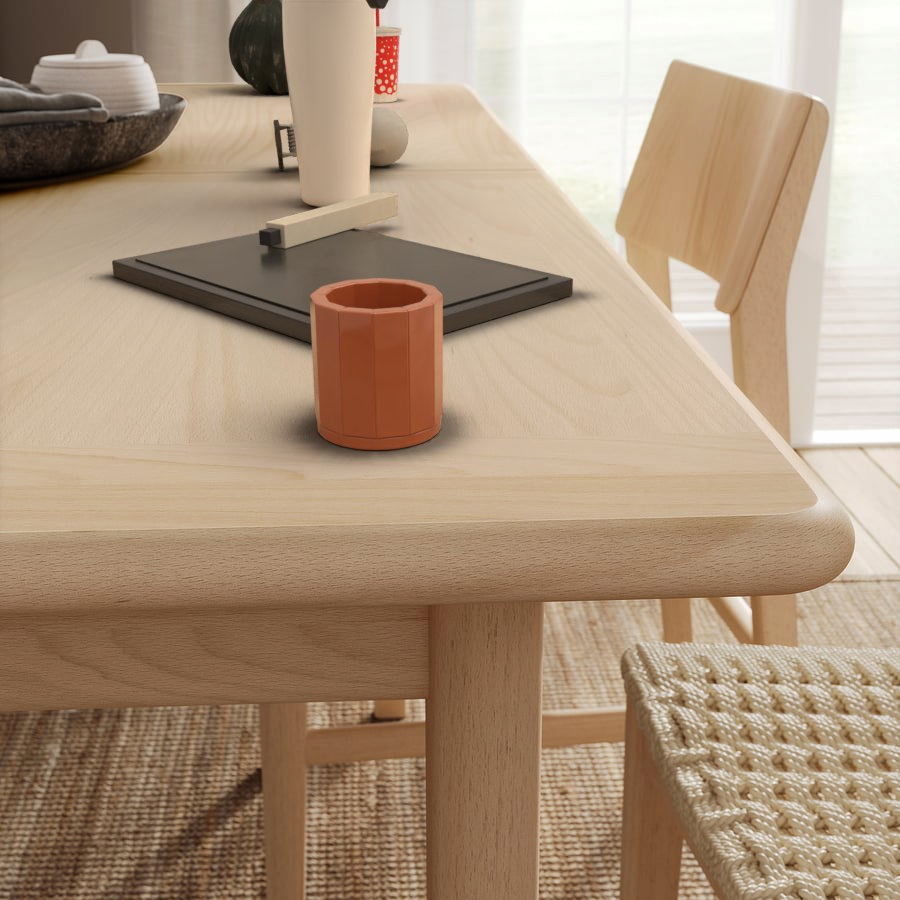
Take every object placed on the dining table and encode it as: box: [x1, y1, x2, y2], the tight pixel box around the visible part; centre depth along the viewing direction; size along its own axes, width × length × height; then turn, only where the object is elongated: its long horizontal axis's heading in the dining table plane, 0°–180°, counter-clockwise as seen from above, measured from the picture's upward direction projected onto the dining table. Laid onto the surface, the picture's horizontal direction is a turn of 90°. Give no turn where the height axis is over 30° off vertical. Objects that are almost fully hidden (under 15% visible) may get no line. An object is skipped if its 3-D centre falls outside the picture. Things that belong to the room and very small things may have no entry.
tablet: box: [111, 228, 574, 344], centre depth 67 cm, size 22×16×1 cm
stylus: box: [258, 191, 399, 249], centre depth 76 cm, size 2×2×13 cm
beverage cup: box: [373, 9, 403, 104], centre depth 151 cm, size 6×6×14 cm
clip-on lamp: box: [273, 106, 409, 170], centre depth 106 cm, size 12×6×18 cm
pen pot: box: [310, 278, 444, 451], centre depth 46 cm, size 5×5×6 cm
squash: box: [228, 0, 289, 95], centre depth 162 cm, size 14×15×15 cm
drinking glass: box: [282, 0, 376, 208], centre depth 87 cm, size 7×7×15 cm
